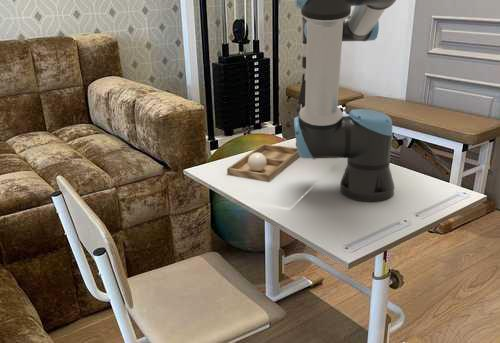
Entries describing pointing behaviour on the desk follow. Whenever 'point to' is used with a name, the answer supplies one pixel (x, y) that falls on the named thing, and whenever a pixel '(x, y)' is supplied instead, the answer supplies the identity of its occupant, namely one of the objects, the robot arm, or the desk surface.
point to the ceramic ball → (257, 161)
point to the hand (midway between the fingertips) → (312, 117)
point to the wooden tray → (276, 164)
